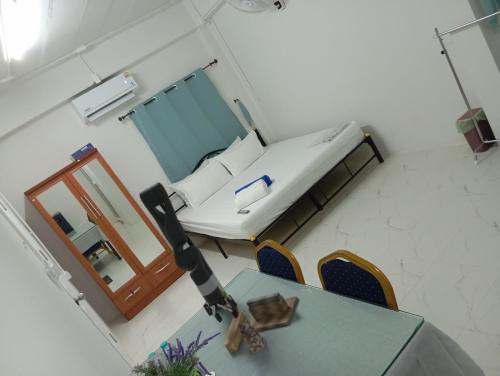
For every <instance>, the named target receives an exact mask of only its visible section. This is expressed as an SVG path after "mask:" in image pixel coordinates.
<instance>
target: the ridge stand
mask: <svg viewBox="0 0 500 376" xmlns="http://www.w3.org/2000/svg"><path fill="white" fill-rule="evenodd" d="M298 301H299V298H298V296H297V295H295V296H291V297H287V298H286V297H284V296H283V295H281V293H280V292H279V291H277V292H274V293H271V294H266V295H263V296H258V297H254V298H251V299H246V302H245V304H246V306H247V307H248V309H247V310H248V311H249V313H250V314H251V316H252V319H251V320H250V323H249V324H250V325H251V326H252V327H253V328H254V329H256V331H257V332H261V331H264V330H270V329H274V327H275V328H279V327H285V326H288V325H290V322H291V319H292V316H293V314H294V311H295V308H296V306H297V302H298Z"/></svg>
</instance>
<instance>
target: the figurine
mask: <svg viewBox="0 0 500 376" xmlns="http://www.w3.org/2000/svg"><path fill="white" fill-rule="evenodd" d="M238 327H239V328H240V332H241V334H242V337H243V340H244V342H245V345H246V348H247V350H248V351H249V352H250V353H251V354H257V353H258V352H260V351H261V350H263V349H264V348H265V346H266V341H265V338H263V336H261V335H260V333H259V331H256V329H254V328H253V327H252V326H251V325H250V323H249V322H248V321H247V322H244V323H243V324H242V325H240V324H238Z"/></svg>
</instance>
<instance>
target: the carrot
mask: <svg viewBox="0 0 500 376" xmlns="http://www.w3.org/2000/svg"><path fill="white" fill-rule="evenodd" d="M221 291H222V290H221ZM225 291H226V290H225ZM225 291H224V292H223V291H222V295H223V296H224V297H228V296H226V293H227V291H226V292H225ZM233 305H234V304H233ZM225 306H227V304H226V305H225ZM229 308H231V307H229ZM227 311H228V312H229V313H230V314H231V315H232V313H231V311H229V310H227ZM236 311H237V312H239V309H238V307H236Z"/></svg>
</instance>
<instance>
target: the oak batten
mask: <svg viewBox="0 0 500 376" xmlns="http://www.w3.org/2000/svg"><path fill="white" fill-rule="evenodd" d="M237 313H238V317H237V318H234V316H233V318H232V319H231V323H230V325H229V329H228V332H227V334H226V337H225V341H224V343H223V346H224V347H225V349H226V350H227V351H228V353H229V354H232V353H235V352H237V351H239V348H240V346H241V341H242V338H243V335H242V334H241V332H240V328H239V327H238V324H240V325H242V324H243V323H244V322H248V317H247V316H246V314H245V313H244V311H243V310H240V311H238V312H237Z"/></svg>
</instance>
